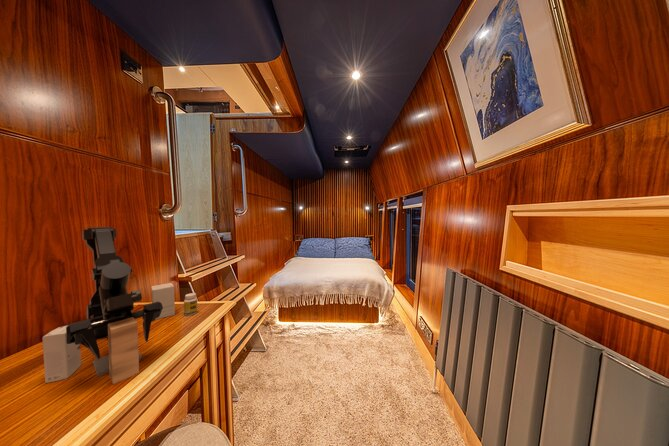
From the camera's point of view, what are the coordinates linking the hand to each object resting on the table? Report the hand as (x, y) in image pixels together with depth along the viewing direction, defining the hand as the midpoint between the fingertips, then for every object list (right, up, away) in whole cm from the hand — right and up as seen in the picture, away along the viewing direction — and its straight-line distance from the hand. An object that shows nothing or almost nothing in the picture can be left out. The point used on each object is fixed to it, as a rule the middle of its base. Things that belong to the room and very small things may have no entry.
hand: (124, 349), depth 58 cm
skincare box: (-18, -8, +1) cm, 19 cm away
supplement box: (-18, -7, +37) cm, 41 cm away
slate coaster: (-8, -7, +6) cm, 13 cm away
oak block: (-1, -7, +1) cm, 7 cm away
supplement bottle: (-7, -6, +38) cm, 39 cm away
